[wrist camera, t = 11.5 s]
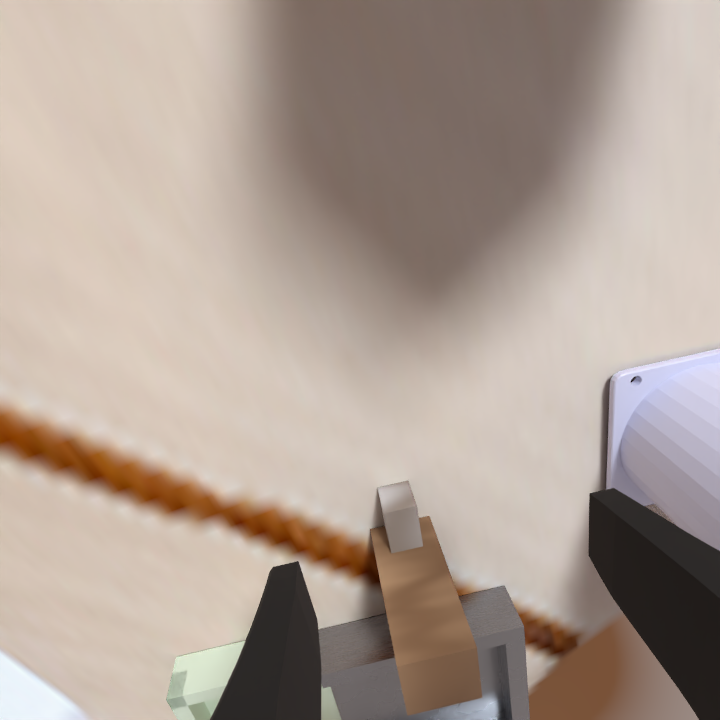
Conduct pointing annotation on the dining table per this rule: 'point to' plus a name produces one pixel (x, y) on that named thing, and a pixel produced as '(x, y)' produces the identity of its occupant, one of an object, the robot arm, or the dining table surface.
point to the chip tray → (216, 684)
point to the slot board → (381, 679)
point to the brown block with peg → (423, 608)
